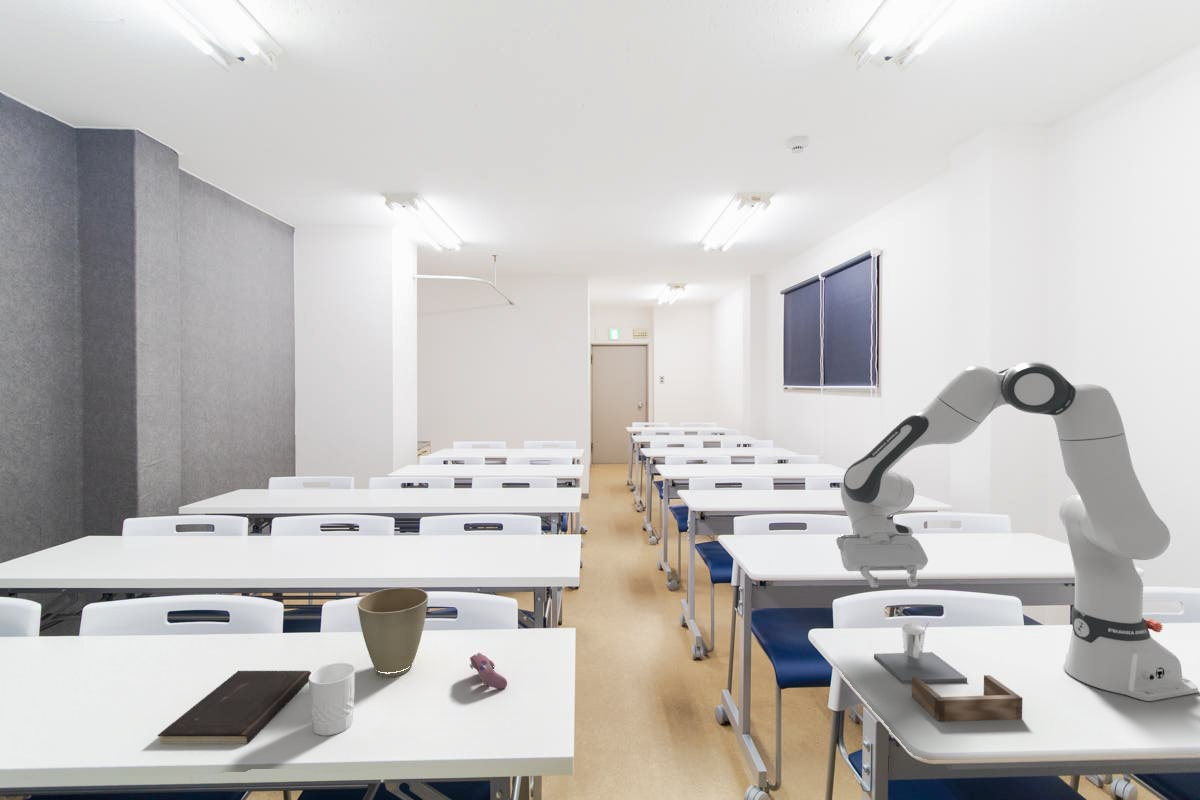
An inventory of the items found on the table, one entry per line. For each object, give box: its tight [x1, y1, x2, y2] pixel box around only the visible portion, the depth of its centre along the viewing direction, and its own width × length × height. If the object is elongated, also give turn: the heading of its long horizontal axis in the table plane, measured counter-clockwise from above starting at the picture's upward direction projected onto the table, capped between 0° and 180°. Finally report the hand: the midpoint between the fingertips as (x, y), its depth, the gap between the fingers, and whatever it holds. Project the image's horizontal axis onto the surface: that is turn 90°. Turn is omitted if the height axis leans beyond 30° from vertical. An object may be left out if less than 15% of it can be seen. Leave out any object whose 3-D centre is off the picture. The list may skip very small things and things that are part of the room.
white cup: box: [308, 662, 356, 737], centre depth 109 cm, size 8×8×10 cm
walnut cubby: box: [911, 674, 1023, 722], centre depth 115 cm, size 16×9×4 cm, turn 93°
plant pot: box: [356, 586, 429, 678], centre depth 130 cm, size 15×15×16 cm
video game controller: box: [469, 652, 508, 690], centre depth 125 cm, size 10×5×7 cm, turn 29°
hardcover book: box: [157, 670, 312, 745], centre depth 115 cm, size 16×23×2 cm
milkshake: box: [901, 621, 930, 669], centre depth 130 cm, size 4×5×10 cm
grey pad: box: [873, 651, 968, 685], centre depth 130 cm, size 14×12×1 cm
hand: (894, 585), depth 139 cm, fingers open, 8 cm apart
